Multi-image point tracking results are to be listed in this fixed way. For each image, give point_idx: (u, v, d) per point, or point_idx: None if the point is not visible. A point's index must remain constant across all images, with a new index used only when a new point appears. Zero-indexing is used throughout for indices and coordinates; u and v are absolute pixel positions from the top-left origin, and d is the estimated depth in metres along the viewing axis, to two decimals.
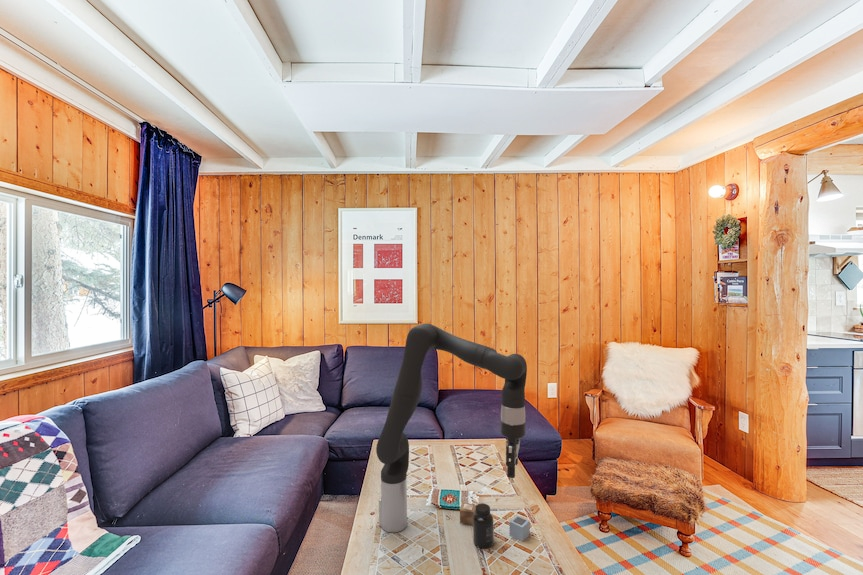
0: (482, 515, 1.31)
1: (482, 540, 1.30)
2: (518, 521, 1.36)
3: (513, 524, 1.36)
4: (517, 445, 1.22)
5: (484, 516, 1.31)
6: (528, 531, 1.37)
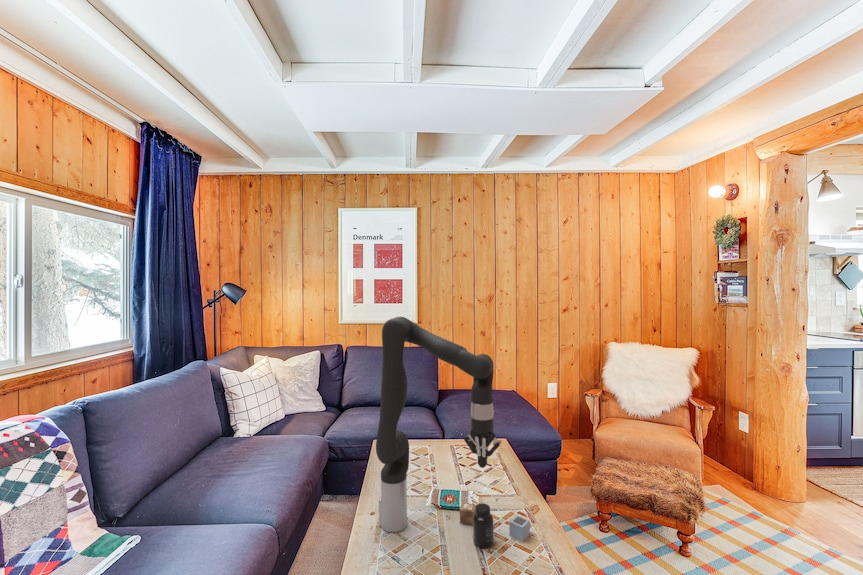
0: (482, 515, 1.31)
1: (482, 540, 1.30)
2: (518, 521, 1.36)
3: (513, 524, 1.36)
4: None
5: (484, 516, 1.31)
6: (528, 531, 1.37)
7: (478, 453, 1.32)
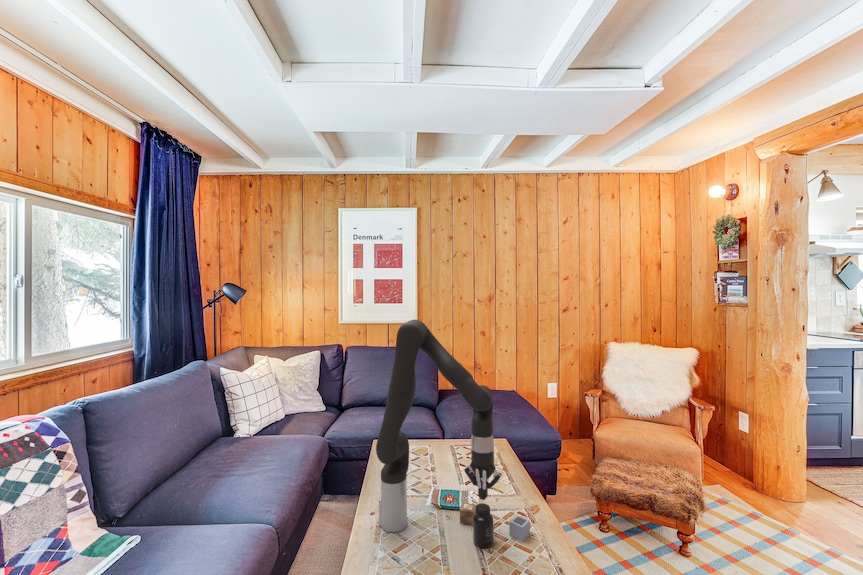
0: (482, 515, 1.31)
1: (482, 540, 1.30)
2: (518, 521, 1.36)
3: (513, 524, 1.36)
4: None
5: (484, 516, 1.31)
6: (528, 531, 1.37)
7: (479, 485, 1.32)
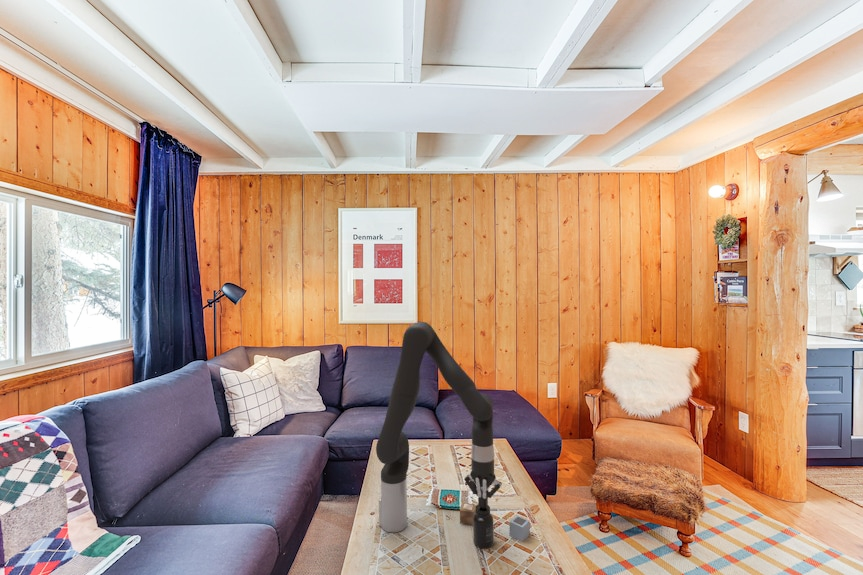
0: (482, 515, 1.31)
1: (482, 540, 1.30)
2: (518, 521, 1.36)
3: (513, 524, 1.36)
4: None
5: (484, 516, 1.31)
6: (528, 531, 1.37)
7: (479, 494, 1.33)
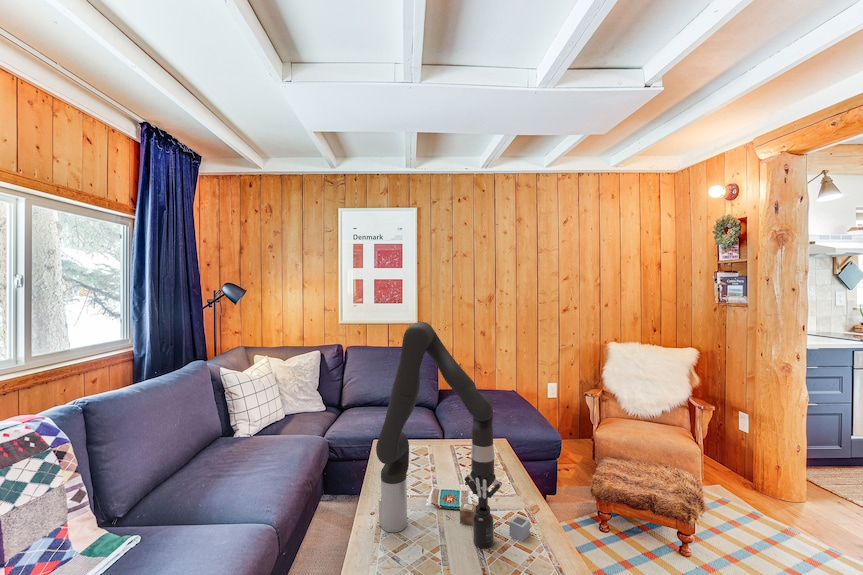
0: (482, 515, 1.31)
1: (482, 540, 1.30)
2: (518, 521, 1.36)
3: (513, 524, 1.36)
4: None
5: (484, 516, 1.31)
6: (528, 531, 1.37)
7: (479, 494, 1.33)
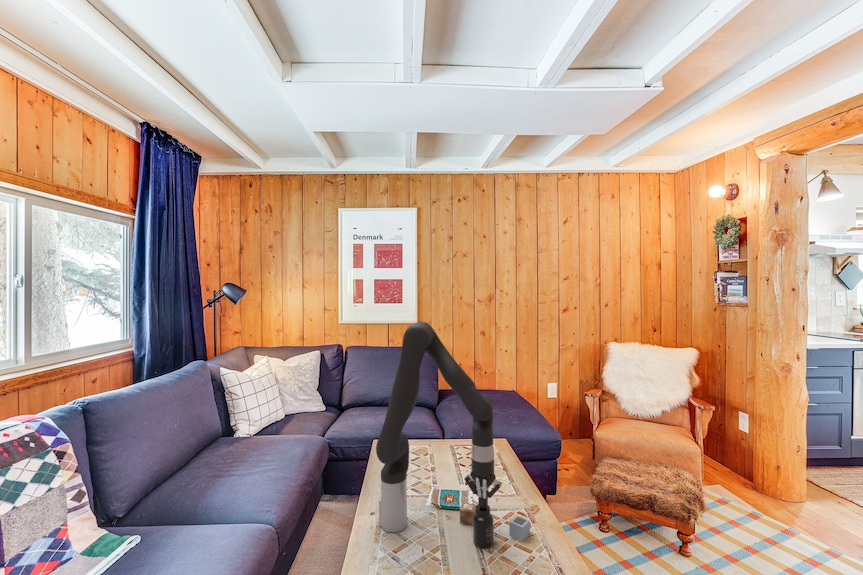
0: (482, 515, 1.31)
1: (482, 540, 1.30)
2: (518, 521, 1.36)
3: (513, 524, 1.36)
4: None
5: (484, 516, 1.31)
6: (528, 531, 1.37)
7: (479, 494, 1.33)
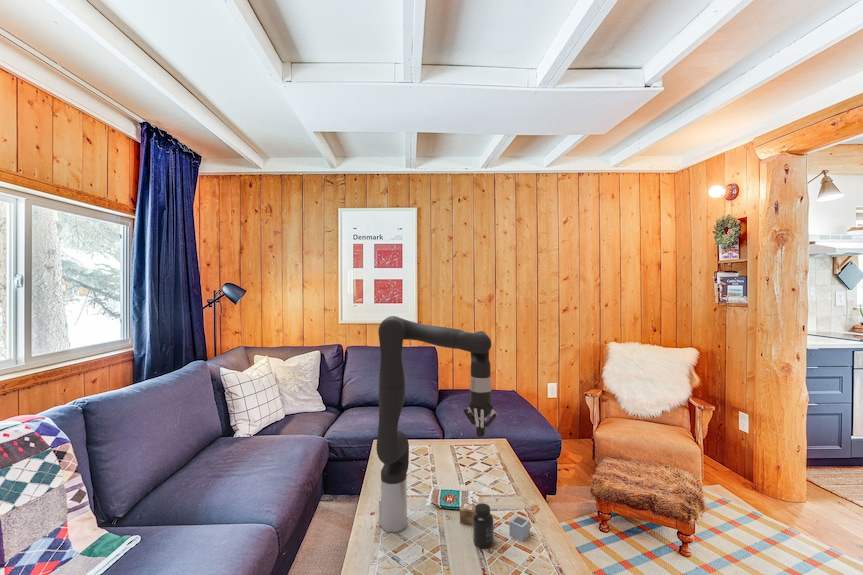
0: (482, 515, 1.31)
1: (482, 540, 1.30)
2: (518, 521, 1.36)
3: (513, 524, 1.36)
4: None
5: (484, 516, 1.31)
6: (528, 531, 1.37)
7: (477, 424, 1.41)
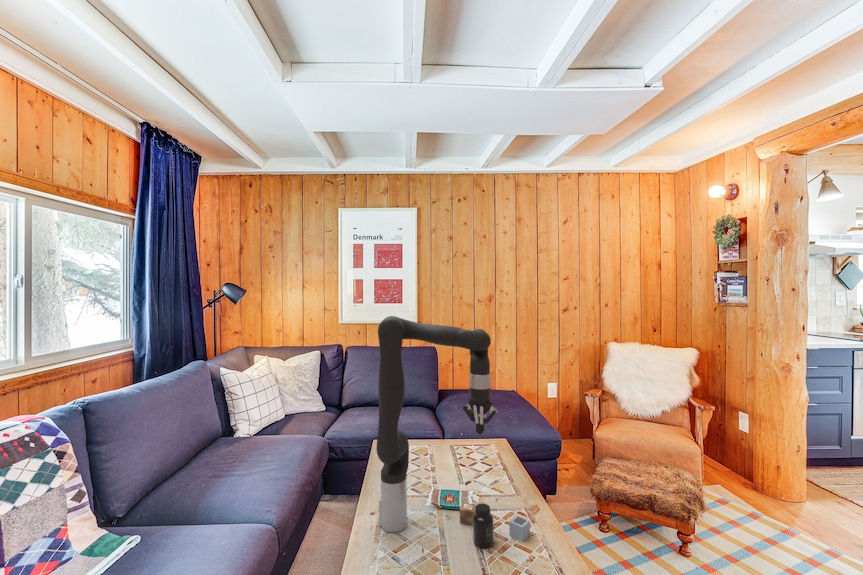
0: (482, 515, 1.31)
1: (482, 540, 1.30)
2: (518, 521, 1.36)
3: (513, 524, 1.36)
4: None
5: (484, 516, 1.31)
6: (528, 531, 1.37)
7: (476, 421, 1.42)
